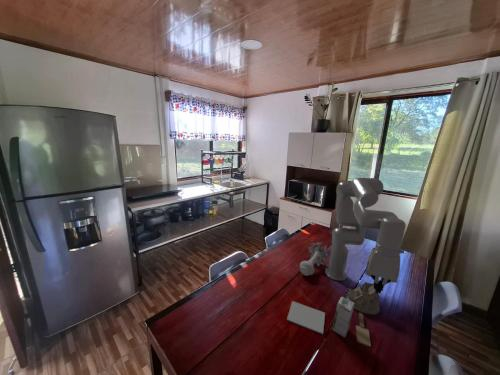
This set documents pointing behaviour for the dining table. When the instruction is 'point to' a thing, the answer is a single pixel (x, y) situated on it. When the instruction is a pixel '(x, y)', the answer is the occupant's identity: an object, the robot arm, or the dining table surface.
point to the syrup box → (343, 316)
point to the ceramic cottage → (365, 298)
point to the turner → (362, 332)
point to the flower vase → (313, 259)
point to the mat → (306, 317)
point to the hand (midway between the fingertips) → (377, 290)
